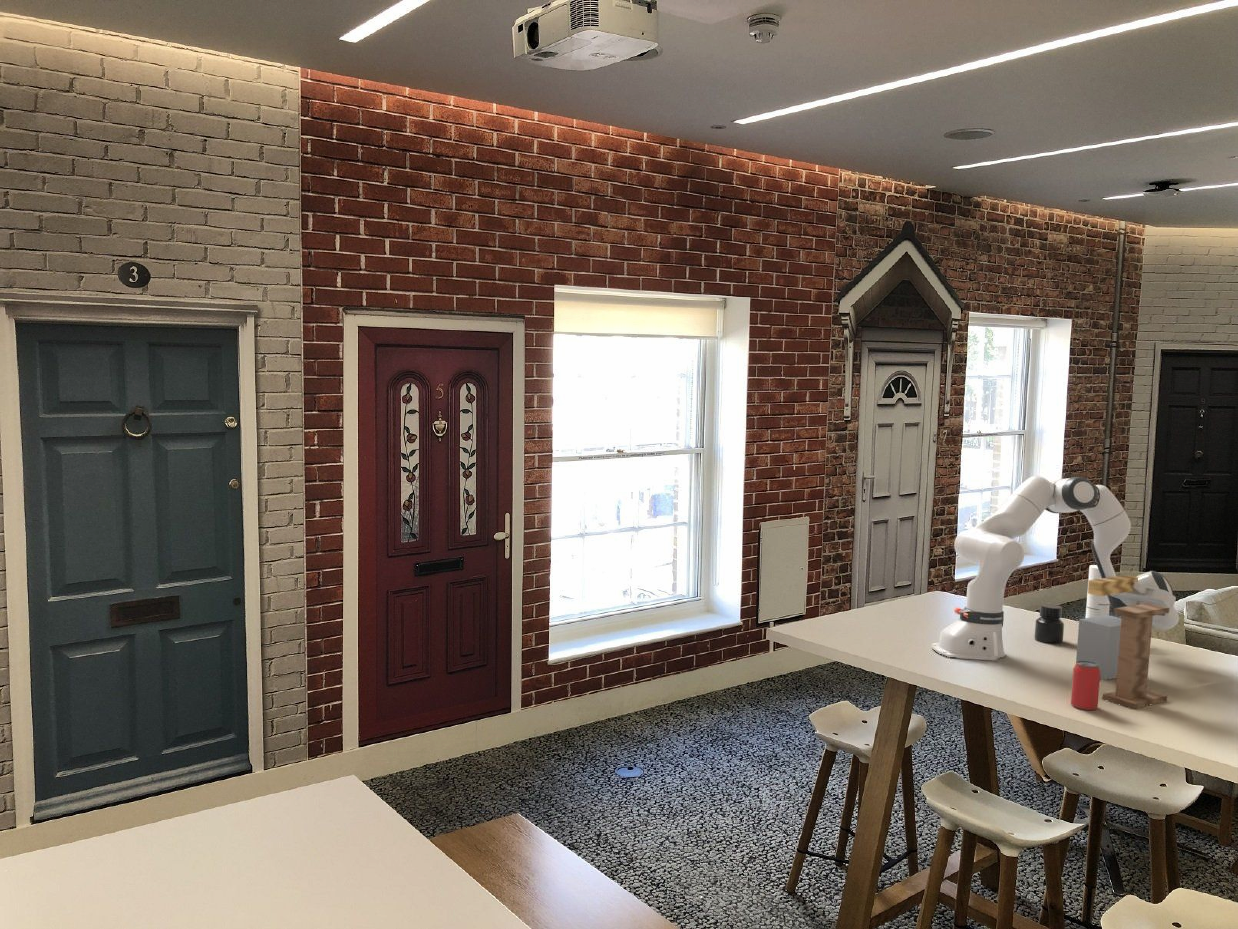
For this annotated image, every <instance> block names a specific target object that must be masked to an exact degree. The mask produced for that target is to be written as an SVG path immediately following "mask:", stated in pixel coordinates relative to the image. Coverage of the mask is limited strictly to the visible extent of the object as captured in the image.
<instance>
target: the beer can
mask: <svg viewBox="0 0 1238 929" xmlns="http://www.w3.org/2000/svg"><path fill="white" fill-rule="evenodd" d="M1098 666H1099V665H1098V664H1097V663H1094V662H1090V661H1077V662H1076V661H1075V664H1074V666H1073V671H1072V682H1071V683H1072V684H1071V696H1070V704H1071V706H1073V707H1075V708H1076V709H1080V710H1085V711H1094V710H1096V709H1097V708H1098V706H1099V695H1100V682H1101V678H1100V670H1099V667H1098Z"/></svg>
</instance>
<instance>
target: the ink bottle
mask: <svg viewBox="0 0 1238 929" xmlns="http://www.w3.org/2000/svg"><path fill="white" fill-rule="evenodd" d="M1062 612H1063V607H1062V606H1060V605H1059V604H1052V603H1050V604H1049V603H1042V604H1039V617H1038V618H1037V619H1036V620H1035V626H1034V640H1036V641H1038V642H1041V641H1042V643H1045V644H1062V643H1063V642H1064V633H1065V623H1064V621H1063V620H1061V618H1062Z"/></svg>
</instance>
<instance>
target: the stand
mask: <svg viewBox="0 0 1238 929" xmlns="http://www.w3.org/2000/svg"><path fill="white" fill-rule="evenodd" d="M1113 611H1114V612H1113V614H1114V615H1118V616H1121V617H1120V618H1121V631H1120V644H1119V656H1118V669H1117V678H1116V681H1115V682H1116V683H1115V690H1114V691H1110V692H1106V693H1102V697H1101V700H1102V699H1103V700H1102V701H1106V700H1108V701H1107V702H1109V701H1110V703H1112V702H1113V704H1117V705H1118V704H1120V705H1119V706H1122V707H1125V708H1128V707H1130V708H1129V709H1131V708H1132V710H1136V709H1139V708H1138V707H1140V708H1144V707H1148V706H1151V705H1150V704H1152V705H1156V704H1160V703H1164V702H1167V701H1168V695H1166V694H1163V693H1160V692H1156V691H1154V690H1150V689H1148V678H1149V675H1148V674H1149V667H1150V666H1149V664H1150V653H1151V643H1152V642H1151V640H1152V629H1153V626H1152V619H1153V616H1154V615H1160V614H1166V613H1169V608H1168V607H1164V606H1159V605H1154V604H1150V603H1146V604H1139V605H1133V606H1126V607H1120V608H1114V609H1113ZM1166 700H1167V701H1166ZM1163 701H1164V702H1163ZM1147 705H1148V706H1147ZM1135 708H1136V709H1135Z"/></svg>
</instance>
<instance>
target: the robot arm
mask: <svg viewBox="0 0 1238 929" xmlns="http://www.w3.org/2000/svg"><path fill="white" fill-rule="evenodd" d="M1045 511H1046V512H1049V513H1053V514H1062V513H1064V514H1065V513H1066V514H1067V513H1068V514H1069V513H1073V512H1077V511H1080V512H1081V513H1082V514H1083V515H1084V516H1085V517H1086V519H1087V521H1088V523H1089V525H1090V526H1091V528H1092V531H1093V539H1092V541H1090V547H1091V548H1090V549H1091V551H1092V555H1093V558H1094V561H1095V565H1097V567H1098V570H1099V573H1100V575H1101V578H1109V577H1116V576H1117V575H1116V571H1115V569H1114V567H1113V564H1112V562H1111V555H1112V553H1113V552H1114V550H1116V548H1118V547H1119V546H1120V545H1121V544H1122V543H1123V542H1124V541H1125V540H1126V539H1127V538H1128V536H1129V534H1130V532H1131V529H1132V523H1131V520H1130V518H1129V515H1128V514H1127V512H1126V510H1125V509H1124V507H1123V505H1122V504H1121V502H1120V501H1119V500H1118V498H1117V497H1116V496H1115V495H1114V494H1113V492H1112V491H1111V490H1110V489H1109V488H1108V487H1107V486H1105V485H1102V484H1094V483H1093V482H1092V481H1091V480H1089V479H1088V478H1085V477H1082V476H1072V477H1068V478H1067V477H1066V478H1061V479H1058V480H1054V481H1051V482H1050V481H1049V480H1048V479H1047V478H1045V477H1042V476H1039V475H1032V476H1029V477H1028V478H1027V479H1026V480H1024V481H1023V482H1021V484H1019V485H1018V486H1017V487H1016V488H1015V489H1014V490H1013V492H1012V493H1011V494H1010V495H1009V496H1008V498H1006V499H1005V501H1004V502H1003V503H1002V504H1001V506H999V508H998V509H997V510H996V511H995V512H994V513H993V514H991V515H990V516H989V517H987V518H986V519H984V520H983V521H982V522H980V523H978V524H977V525H975V526H973V527H971V528H969V529H966V530H965V529H964V530H962V531H960V532H959V533H958V534H957V536H955V540H954V545H953V547H954V551H955V553H956V555H957V556H958V557H960V558H962V559H963V560H964V561H966V562H968V563H971V564H974V565H978V566H979V569H978V572H977V574H976V577H975V578H973V579H971V580H970V581H968V584H967V587H966V588H967V589H966V590H967V591H966V600H965V601H966V602H965V607H964V608H960V607H958V606H957V607H955V608H954V613H955V614H957V615H959V618H958V619H957V620H955V621H954V622H952V623H951V624H949V625H948V626H946V627H944V628H942V630H941V631H940V634H939V637H938V638H939V639H938V642H934V643H933V642H932V643H931V646H930V647H932V648H933V649H934V650H935V651H937V652H938V653H939V655H940V654H943V655H945V656H944V657H946V656H947V657H946V658H950V657H956V658H955V659H964V660H965V659H967V660H979V661H980V660H983V661H998V660H999V659H1000V657H1001V658H1003V657H1005V656H1006V653H1005V648H1004V644H1003V643H1004V641H1003V627H1004V618H1005V615H1004V614H1005V612H1004V598H1005V589H1006V585H1007V582H1008V580H1009V578H1010V577H1011V575H1012V573H1013V572H1014V571H1015V570H1017V569H1019V567H1021V565H1022V564H1023V562H1024V557H1025V552H1024V547H1023V546H1022V545H1021V543H1020V542H1018V541H1016V540H1014V539H1016V538H1020V537H1022V536H1023V535H1025V534H1027V532H1028V531H1029V530H1030V529H1031V527H1033V525H1034V524H1035V523H1036V522H1037V520H1038V519H1039V518H1040V517H1041V516H1042V514H1043V512H1045ZM1136 577H1138V583H1137V582H1131V585H1130V587H1132V589H1135V590H1137V591H1131V592H1124V593H1118V594H1111V595H1107V596H1108V600H1109V603H1110V607H1111V608H1112V609H1113V610H1114V608H1120V607H1126V606H1133V605H1139V604H1146V603H1150V604H1154V605H1159V606H1164V607H1168V608H1169V613H1166V614H1160V615H1154V616H1153V619H1152V627H1154V628H1156V629H1158V630H1161V631H1168V630H1171V629H1172V628H1173V629H1174V628H1175V627H1176V626H1177V624H1178V623H1179V620H1180V615H1179V612H1178V611H1177V610H1176V608H1175V606H1174V605H1175V602H1176V599H1177V597H1176V596H1175V595H1174V591H1173V590H1174V589H1173V587H1172V586H1171V584H1170V582H1169V580H1168V579H1167V578H1166V576H1164V575H1163V574H1162V573H1160V572H1157V571H1155V570H1150V571H1147V572H1144V573H1142V574H1139V575H1137V576H1136ZM932 648H931V649H932ZM934 650H933V651H934ZM935 651H934V652H935ZM938 653H937V654H938ZM943 655H942V656H943Z"/></svg>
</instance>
